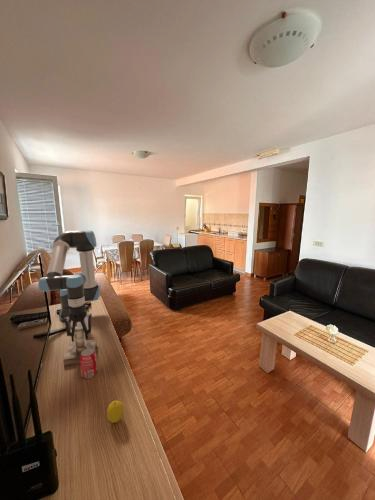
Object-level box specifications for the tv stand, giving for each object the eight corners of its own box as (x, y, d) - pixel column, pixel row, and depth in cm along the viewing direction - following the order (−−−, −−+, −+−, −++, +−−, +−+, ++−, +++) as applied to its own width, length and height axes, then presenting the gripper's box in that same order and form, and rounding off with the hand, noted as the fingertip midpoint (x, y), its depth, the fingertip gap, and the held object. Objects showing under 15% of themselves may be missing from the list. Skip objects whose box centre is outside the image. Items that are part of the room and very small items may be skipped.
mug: (88, 328, 140) (87, 311, 138) (89, 332, 134) (88, 315, 132) (71, 332, 135) (69, 314, 133) (72, 337, 129) (70, 319, 127)
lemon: (105, 420, 77) (103, 402, 76) (119, 411, 81) (118, 393, 79) (111, 431, 73) (110, 412, 72) (126, 420, 77) (125, 402, 76)
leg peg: (78, 351, 115) (75, 328, 112) (86, 350, 116) (83, 327, 113) (76, 356, 111) (74, 332, 108) (84, 355, 112) (82, 330, 110)
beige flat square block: (69, 349, 118) (69, 343, 117) (96, 344, 122) (96, 339, 122) (63, 366, 105) (63, 359, 104) (94, 360, 109) (93, 354, 109)
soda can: (91, 367, 104) (89, 345, 102) (100, 372, 101) (99, 349, 99) (78, 376, 98) (76, 353, 96) (87, 382, 95) (85, 358, 93)
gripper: (56, 310, 103) (61, 353, 106) (94, 305, 108) (97, 346, 112) (60, 304, 110) (64, 344, 113) (95, 299, 115) (98, 338, 119)
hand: (80, 345), depth 113 cm, fingers closed on leg peg, 4 cm apart
